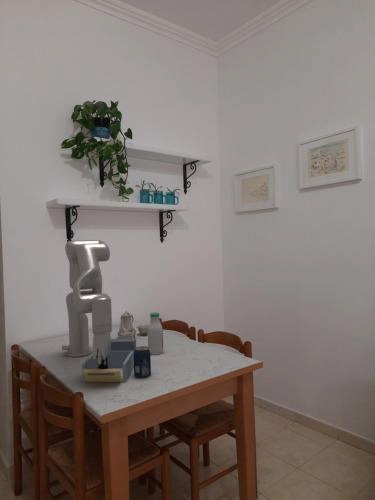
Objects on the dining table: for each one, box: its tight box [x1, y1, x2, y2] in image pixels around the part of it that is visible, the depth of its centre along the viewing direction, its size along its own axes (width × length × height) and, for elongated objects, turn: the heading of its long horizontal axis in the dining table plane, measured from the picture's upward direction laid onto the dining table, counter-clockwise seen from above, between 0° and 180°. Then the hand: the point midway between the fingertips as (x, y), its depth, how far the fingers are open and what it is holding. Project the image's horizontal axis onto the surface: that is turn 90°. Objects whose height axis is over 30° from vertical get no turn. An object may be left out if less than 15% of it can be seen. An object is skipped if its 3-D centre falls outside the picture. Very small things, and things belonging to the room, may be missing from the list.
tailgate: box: [81, 368, 123, 383], centre depth 138 cm, size 14×1×9 cm
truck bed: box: [81, 338, 137, 383], centre depth 151 cm, size 17×22×12 cm
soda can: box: [133, 345, 152, 379], centre depth 146 cm, size 7×7×12 cm
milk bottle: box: [147, 311, 164, 356], centre depth 179 cm, size 8×8×20 cm
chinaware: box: [117, 310, 149, 339], centre depth 208 cm, size 28×17×17 cm, turn 162°
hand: (103, 374), depth 139 cm, fingers closed
